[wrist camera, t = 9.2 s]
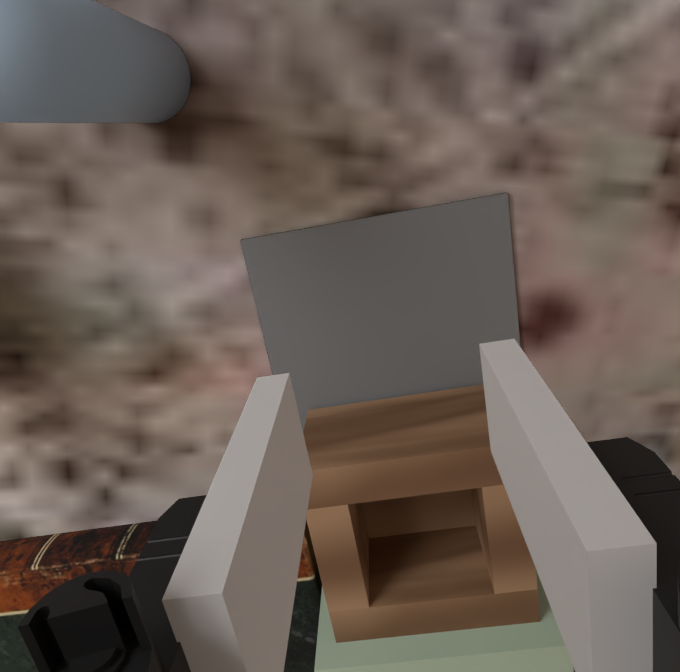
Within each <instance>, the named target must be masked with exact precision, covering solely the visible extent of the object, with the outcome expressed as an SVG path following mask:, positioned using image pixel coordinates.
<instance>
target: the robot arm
mask: <svg viewBox="0 0 680 672" xmlns="http://www.w3.org/2000/svg"><path fill="white" fill-rule="evenodd" d="M479 347H480V356H481V365H482V375H483V384H484V393H485V402H486V412H487V421H488V430H489V439H490V448H491V453H492V456H493V458H494V461H495V463H496V466H497V469H498V471H499V474H500V476H501V479H502V482H503V484H504V487H505V489H506V492H507V495H508V497H509V500H510V503H511V505H512V508H513V510H514V513H515V516H516V518H517V521H518V523H519V526H520V529H521V531H522V534H523V536H524V539H525V542H526V544H527V547H528V549H529V552H530V555H531V557H532V560H533V562H534V565H535V568H536V570H537V573H538V575H539V578H540V581H541V583H542V586H543V588H544V591H545V594H546V596H547V599H548V601H549V604H550V607H551V609H552V612H553V614H554V617H555V620H556V622H557V625H558V627H559V630H560V633H561V635H562V638H563V641H564V643H565V646H566V648H567V651H568V654H569V656H570V659H571V661H572V664H573V667H574V669H575V672H680V481H679V480H678V478H677V477H676V476H675V475H672V473H671V470H670V469H669V468H668V467H667V466H666V465H665V464H664V463H663V461H662V460H661V459H660V458H659V457H658V456H657V455H656V453H655V452H653V451H652V450H650V449H648V448H646V447H644V446H642V445H640V444H639V443H637V442H635V441H633V440H631V439H629V438H628V437H625V438H617V439H610V440H602V441H595V442H586V441H585V440H584V438H583V437H582V435H581V434H580V432H579V431H578V429H577V428H576V427H575V425H574V424H573V422H572V421H571V419H570V418H569V417H568V415H567V414H566V412H565V411H564V409H563V408H562V406H561V405H560V404H559V402H558V401H557V399H556V398H555V396H554V395H553V394H552V392H551V391H550V389H549V388H548V386H547V385H546V383H545V382H544V381H543V379H542V378H541V376H540V375H539V373H538V372H537V370H536V369H535V368H534V366H533V365H532V363H531V362H530V360H529V359H528V358H527V356H526V355H525V353H524V352H523V350H522V349H521V347H520V346H519V345H518V343H517V342H516V340H515V339H508V340H501V341H494V342H488V343H481V344H479ZM312 477H313V474H312V469H311V465H310V461H309V456H308V452H307V448H306V443H305V439H304V435H303V430H302V426H301V422H300V417H299V413H298V408H297V404H296V400H295V395H294V391H293V387H292V382H291V378H290V374H289V373H285V374H278V375H271V376H265V377H258V378H256V381H255V383H254V385H253V388H252V390H251V393H250V395H249V397H248V400H247V402H246V404H245V407H244V409H243V411H242V414H241V416H240V418H239V421H238V423H237V425H236V428H235V430H234V432H233V435H232V437H231V439H230V442H229V444H228V446H227V449H226V451H225V453H224V456H223V458H222V460H221V463H220V465H219V467H218V470H217V472H216V474H215V477H214V479H213V481H212V484H211V486H210V488H209V491H208V493H207V495H204V496H197V497H189V498H182V499H178V500H177V501H176V502H175V503H174V504H173V505H172V506H171V507H170V508H169V509H168V510H167V511H166V512H165V513H164V514H163V515H162V516H161V517H160V518H159V519H158V521H157V523H156V525H155V527H154V529H153V530H152V532H151V534H150V536H149V538H148V544H145V546H144V548H143V550H142V551H141V553H140V555H139V557H138V559H139V561H138V562H136V563H135V565H134V567H133V569H132V571H131V572H130V574H129V576H128V578H127V577H126V576H125V575H124V574H123V573H118V572H114V571H109V570H106V571H98V572H91V573H87V574H84V575H82V576H79V577H76V578H74V579H71V580H68V581H66V582H65V583H63V584H62V585H60V586H58V587H57V588H55V589H53V590H52V591H50V592H49V593H47V594H46V595H45V596H44V597H43V598H41V599H40V600H39V601H38V602H37V603H36V604H35V605H34V606H33V607H32V608H30V609H29V611H28V612H27V614H26V615H25V617H24V618H23V620H22V621H21V623H20V624H19V626H18V629H19V631H20V633H21V635H22V637H23V639H24V642H25V644H26V646H27V648H28V650H29V652H30V654H31V656H32V658H33V660H34V662H35V665H36V667H37V669H38V671H39V672H283V671H284V665H285V658H286V651H287V645H288V638H289V631H290V625H291V618H292V611H293V604H294V598H295V591H296V584H297V578H298V571H299V564H300V558H301V551H302V544H303V537H304V531H305V524H306V517H307V511H308V504H309V497H310V491H311V484H312Z"/></svg>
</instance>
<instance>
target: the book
mask: <svg viewBox="0 0 680 672" xmlns="http://www.w3.org/2000/svg"><path fill="white" fill-rule="evenodd" d="M156 523H157V521H152V522H144V523H136V524H129V525H121V526H113V527H106V528H98V529H90V530H83V531H75V532H68V533H60V534H53V535H45V536H37V537H30V538H22V539H15V540H7V541H0V672H39V671H38V669H37V667H36V665H35V662H34V660H33V658H32V656H31V654H30V652H29V650H28V648H27V646H26V644H25V642H24V639H23V637H22V635H21V633H20V631H19V629H18V626H19V624H20V623H21V621H22V620H23V618H24V617H25V615H26V614H27V612H28V611H29V609H30V608H32V607H33V606H34V605H35V604H36V603H37V602H38V601H39V600H40V599H41V598H43V597H44V596H45V595H46V594H47V593H49V592H50V591H52V590H53V589H55V588H57V587H58V586H60V585H62V584H63V583H65V582H66V581H68V580H71V579H74V578H76V577H79V576H82V575H84V574H87V573H91V572H98V571H106V570H109V571H114V572H118V573H123V574H124V575H125V576H126V577H127V578H128V576H129V574H130V572H131V571H132V569H133V567H134V565H135V563H136V562H138V561H139V559H138V557H139V555H140V553H141V551H142V550H143V548H144V546H145V544H148V538H149V536H150V534H151V532H152V530H153V529H154V527H155V525H156ZM321 593H322V582H321V578H320V574H319V569H318V565H317V561H316V557H315V553H314V549H313V545H312V540H311V536H310V532H309V528H308V524H307V520H306V524H305V531H304V537H303V544H302V551H301V558H300V564H299V571H298V578H297V584H296V591H295V598H294V604H293V611H292V618H291V625H290V631H289V638H288V645H287V651H286V658H285V665H284V671H283V672H314V667H315V657H316V646H317V635H318V625H319V614H320V603H321Z"/></svg>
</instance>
